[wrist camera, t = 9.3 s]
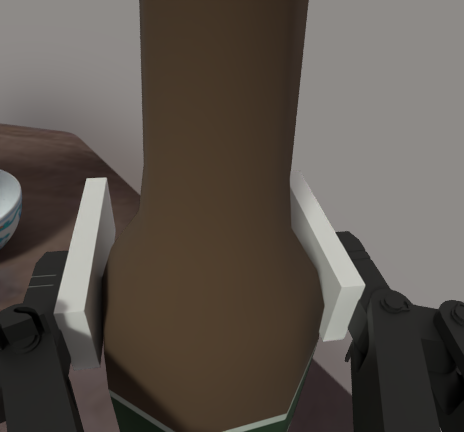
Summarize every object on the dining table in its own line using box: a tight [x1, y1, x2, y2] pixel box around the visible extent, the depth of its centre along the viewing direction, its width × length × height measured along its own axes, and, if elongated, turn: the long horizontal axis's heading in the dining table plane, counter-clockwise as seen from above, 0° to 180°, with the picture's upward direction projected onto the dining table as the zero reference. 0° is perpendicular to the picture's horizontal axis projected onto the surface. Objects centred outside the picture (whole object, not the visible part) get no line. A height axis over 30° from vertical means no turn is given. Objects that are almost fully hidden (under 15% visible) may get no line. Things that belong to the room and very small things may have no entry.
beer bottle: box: [102, 0, 325, 432], centre depth 13 cm, size 8×8×24 cm
